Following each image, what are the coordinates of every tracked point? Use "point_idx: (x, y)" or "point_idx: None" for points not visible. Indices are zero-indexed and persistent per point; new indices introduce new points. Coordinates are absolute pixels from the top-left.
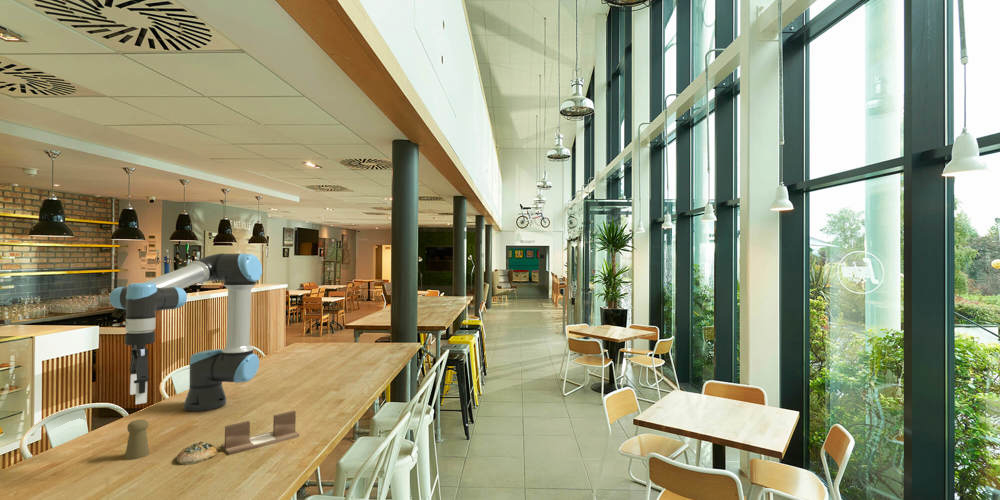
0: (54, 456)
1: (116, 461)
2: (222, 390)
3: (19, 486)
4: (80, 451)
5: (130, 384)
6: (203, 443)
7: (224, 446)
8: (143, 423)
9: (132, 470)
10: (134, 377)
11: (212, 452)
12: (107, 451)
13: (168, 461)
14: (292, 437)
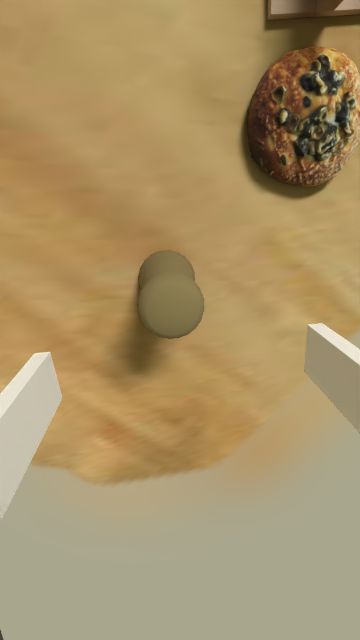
0: (50, 435)
1: None
2: None
3: (203, 458)
4: None
5: (37, 446)
6: (322, 86)
7: (304, 9)
8: (197, 292)
9: (274, 288)
10: (8, 470)
11: (355, 68)
12: (82, 343)
13: (277, 205)
14: None
